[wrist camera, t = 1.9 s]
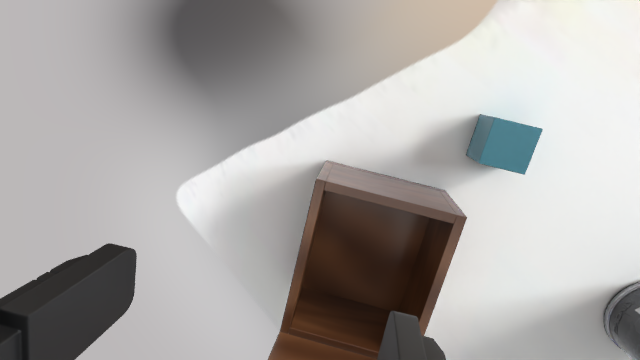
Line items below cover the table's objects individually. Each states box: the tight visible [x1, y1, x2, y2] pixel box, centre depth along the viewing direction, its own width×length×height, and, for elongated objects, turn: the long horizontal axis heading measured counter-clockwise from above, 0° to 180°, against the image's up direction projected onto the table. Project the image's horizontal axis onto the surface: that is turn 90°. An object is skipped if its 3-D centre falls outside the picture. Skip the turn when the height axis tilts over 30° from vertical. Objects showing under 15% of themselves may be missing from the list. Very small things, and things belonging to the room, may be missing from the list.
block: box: [466, 114, 542, 174], centre depth 37 cm, size 4×4×4 cm
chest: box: [280, 161, 467, 359], centre depth 39 cm, size 17×14×9 cm
